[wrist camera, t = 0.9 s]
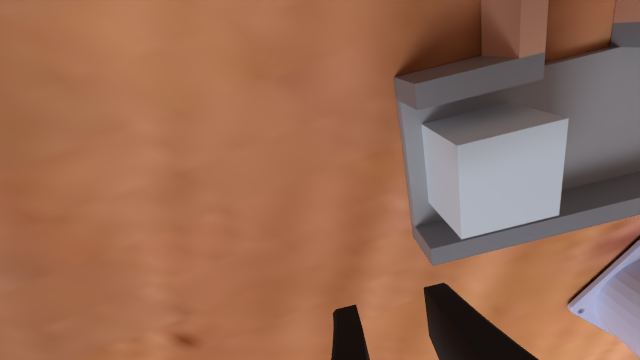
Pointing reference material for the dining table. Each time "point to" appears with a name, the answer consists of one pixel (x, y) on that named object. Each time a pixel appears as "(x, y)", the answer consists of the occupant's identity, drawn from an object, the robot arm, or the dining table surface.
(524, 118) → the block
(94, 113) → the dining table surface
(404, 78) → the box
